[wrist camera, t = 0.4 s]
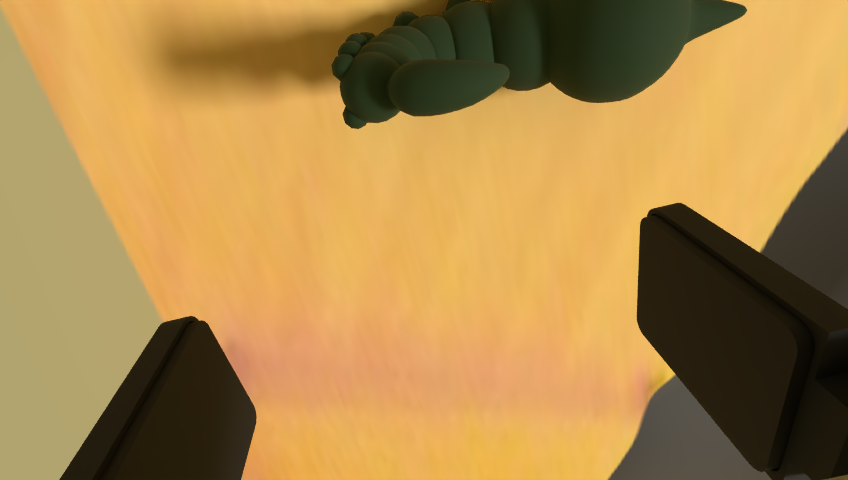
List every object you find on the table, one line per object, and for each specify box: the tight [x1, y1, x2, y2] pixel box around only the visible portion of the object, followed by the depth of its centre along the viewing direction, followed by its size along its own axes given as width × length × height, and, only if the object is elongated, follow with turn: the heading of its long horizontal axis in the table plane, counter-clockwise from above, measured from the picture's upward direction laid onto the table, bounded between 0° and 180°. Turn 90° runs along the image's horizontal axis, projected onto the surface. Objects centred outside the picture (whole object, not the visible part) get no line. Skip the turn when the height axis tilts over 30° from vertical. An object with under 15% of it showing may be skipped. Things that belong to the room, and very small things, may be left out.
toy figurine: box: [332, 0, 747, 129], centre depth 28 cm, size 9×19×25 cm
